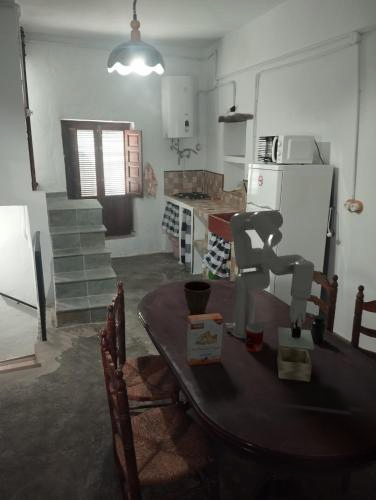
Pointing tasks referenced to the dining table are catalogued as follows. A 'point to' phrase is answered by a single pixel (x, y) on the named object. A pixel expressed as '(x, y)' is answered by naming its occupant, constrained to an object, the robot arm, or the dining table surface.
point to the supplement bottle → (318, 329)
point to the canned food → (254, 337)
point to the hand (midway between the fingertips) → (295, 334)
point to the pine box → (294, 364)
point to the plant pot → (197, 296)
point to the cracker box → (204, 339)
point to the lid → (295, 338)
